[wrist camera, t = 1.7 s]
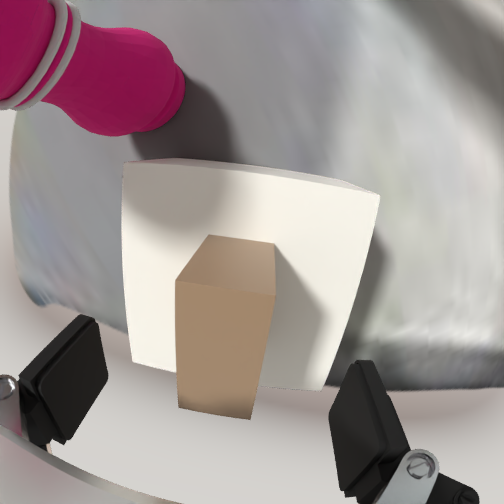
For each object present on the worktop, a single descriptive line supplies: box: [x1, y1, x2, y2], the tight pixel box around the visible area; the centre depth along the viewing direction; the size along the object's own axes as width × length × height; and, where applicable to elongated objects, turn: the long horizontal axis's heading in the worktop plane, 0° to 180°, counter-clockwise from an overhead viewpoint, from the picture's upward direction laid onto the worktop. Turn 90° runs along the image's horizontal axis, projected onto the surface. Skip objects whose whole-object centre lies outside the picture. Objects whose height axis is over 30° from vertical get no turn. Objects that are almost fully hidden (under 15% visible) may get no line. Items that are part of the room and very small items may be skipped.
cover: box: [122, 158, 380, 420], centre depth 15 cm, size 12×12×13 cm
